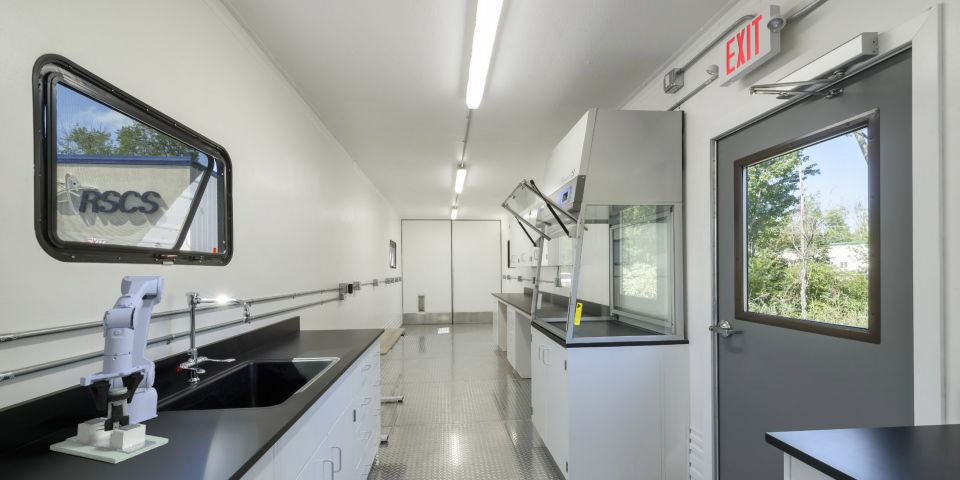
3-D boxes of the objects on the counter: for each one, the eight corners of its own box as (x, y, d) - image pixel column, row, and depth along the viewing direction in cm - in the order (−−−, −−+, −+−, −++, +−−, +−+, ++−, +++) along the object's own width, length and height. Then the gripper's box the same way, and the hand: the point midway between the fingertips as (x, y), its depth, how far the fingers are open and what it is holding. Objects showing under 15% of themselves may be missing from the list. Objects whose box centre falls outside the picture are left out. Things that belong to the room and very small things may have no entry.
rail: (93, 431, 109) (93, 430, 109) (156, 443, 102) (156, 441, 102) (65, 440, 103) (65, 439, 103) (129, 453, 96) (130, 451, 96)
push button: (93, 436, 99) (94, 395, 99) (97, 429, 103) (98, 390, 103) (129, 428, 102) (130, 389, 103) (131, 422, 107) (132, 384, 107)
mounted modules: (100, 432, 108) (101, 416, 108) (144, 440, 103) (145, 423, 103) (77, 440, 103) (78, 423, 103) (122, 449, 98) (123, 431, 98)
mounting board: (106, 431, 112) (106, 427, 112) (168, 442, 105) (168, 438, 105) (50, 449, 100) (50, 445, 100) (115, 463, 93) (115, 459, 94)
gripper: (95, 360, 97) (90, 417, 96) (158, 349, 110) (155, 399, 109) (76, 358, 99) (71, 414, 98) (140, 348, 112) (136, 397, 111)
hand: (114, 406), depth 104 cm, fingers closed on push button, 5 cm apart
